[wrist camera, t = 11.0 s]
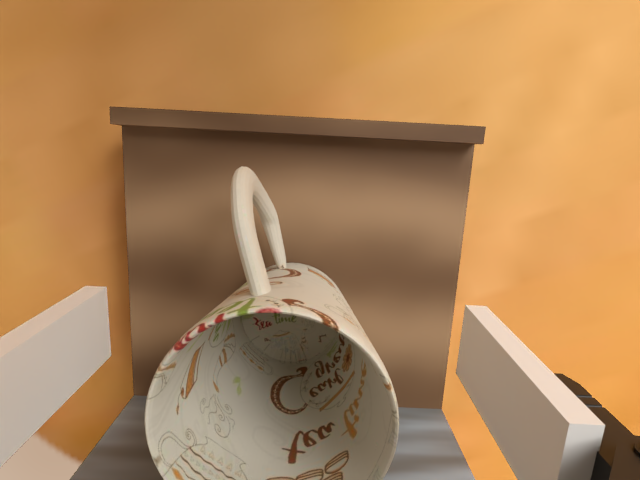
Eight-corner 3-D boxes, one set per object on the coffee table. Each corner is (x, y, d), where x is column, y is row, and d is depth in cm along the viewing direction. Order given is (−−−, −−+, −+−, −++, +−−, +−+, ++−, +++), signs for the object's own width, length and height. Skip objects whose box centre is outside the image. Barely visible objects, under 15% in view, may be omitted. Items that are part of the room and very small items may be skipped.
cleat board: (152, 115, 25) (-452, -17, 5) (452, 131, 25) (912, 62, 6) (160, 381, 29) (-186, 880, 9) (422, 393, 29) (641, 905, 9)
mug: (239, 395, 24) (186, 557, 15) (175, 183, 22) (58, 208, 12) (380, 364, 24) (421, 510, 14) (330, 146, 21) (338, 140, 12)
